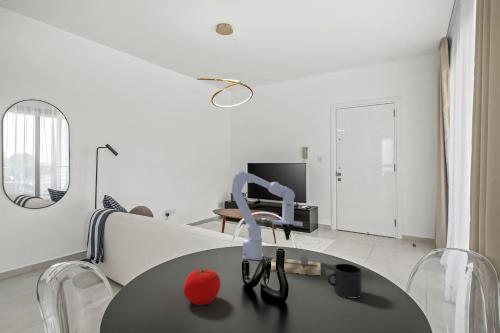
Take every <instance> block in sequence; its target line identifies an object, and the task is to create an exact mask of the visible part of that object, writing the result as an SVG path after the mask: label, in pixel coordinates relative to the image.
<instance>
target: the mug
mask: <svg viewBox="0 0 500 333" xmlns="http://www.w3.org/2000/svg"><path fill="white" fill-rule="evenodd" d="M362 272H363V270H362V268H360V267H358V266H357V265H354V264H349V263H338V264H337V263H336V264H335V265H334V268H333V273H330V274H329V275H328V277H327V282H328V285H329V286H332V287H333V291H334V293H335V292H336V293H337V294H339V295H341V296H345V297H358V296H360V295H361V296H362V284H363V283H362V277H363V273H362ZM331 277H333V282H332V281H331ZM336 293H335V294H336ZM337 294H336V295H337ZM339 295H338V296H339ZM341 296H340V297H341Z"/></svg>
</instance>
